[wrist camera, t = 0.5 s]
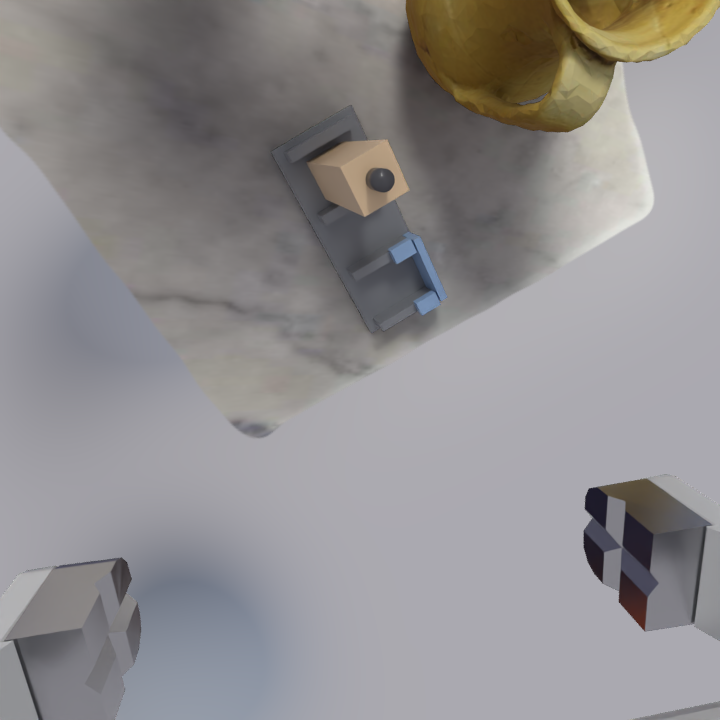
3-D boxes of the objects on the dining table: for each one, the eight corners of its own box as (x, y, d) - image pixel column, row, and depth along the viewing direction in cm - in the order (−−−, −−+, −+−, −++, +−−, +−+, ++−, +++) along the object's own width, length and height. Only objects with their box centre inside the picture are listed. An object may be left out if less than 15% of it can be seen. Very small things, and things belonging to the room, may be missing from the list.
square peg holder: (270, 151, 50) (275, 151, 46) (349, 105, 50) (360, 102, 46) (369, 330, 60) (380, 343, 56) (434, 291, 60) (450, 301, 56)
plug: (306, 162, 50) (346, 168, 35) (340, 141, 50) (396, 139, 35) (325, 199, 52) (372, 220, 37) (359, 179, 52) (419, 192, 37)
